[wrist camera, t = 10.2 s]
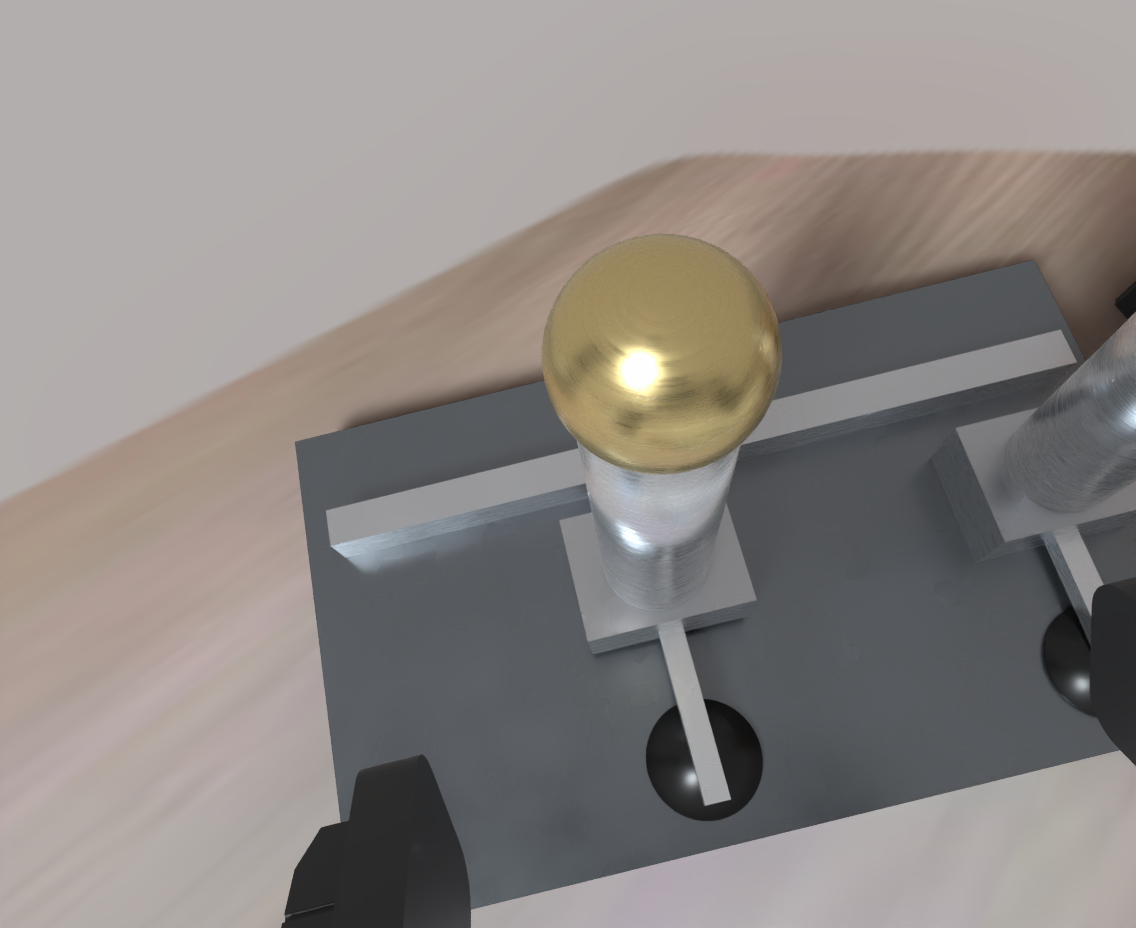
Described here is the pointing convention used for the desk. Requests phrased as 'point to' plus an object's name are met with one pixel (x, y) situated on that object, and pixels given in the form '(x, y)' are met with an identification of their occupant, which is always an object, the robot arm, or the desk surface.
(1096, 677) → the robot arm
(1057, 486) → the silver ball-topped post
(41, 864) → the desk surface
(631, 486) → the gold topped lever
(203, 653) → the desk surface
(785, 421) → the plate
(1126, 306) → the ammunition clip
